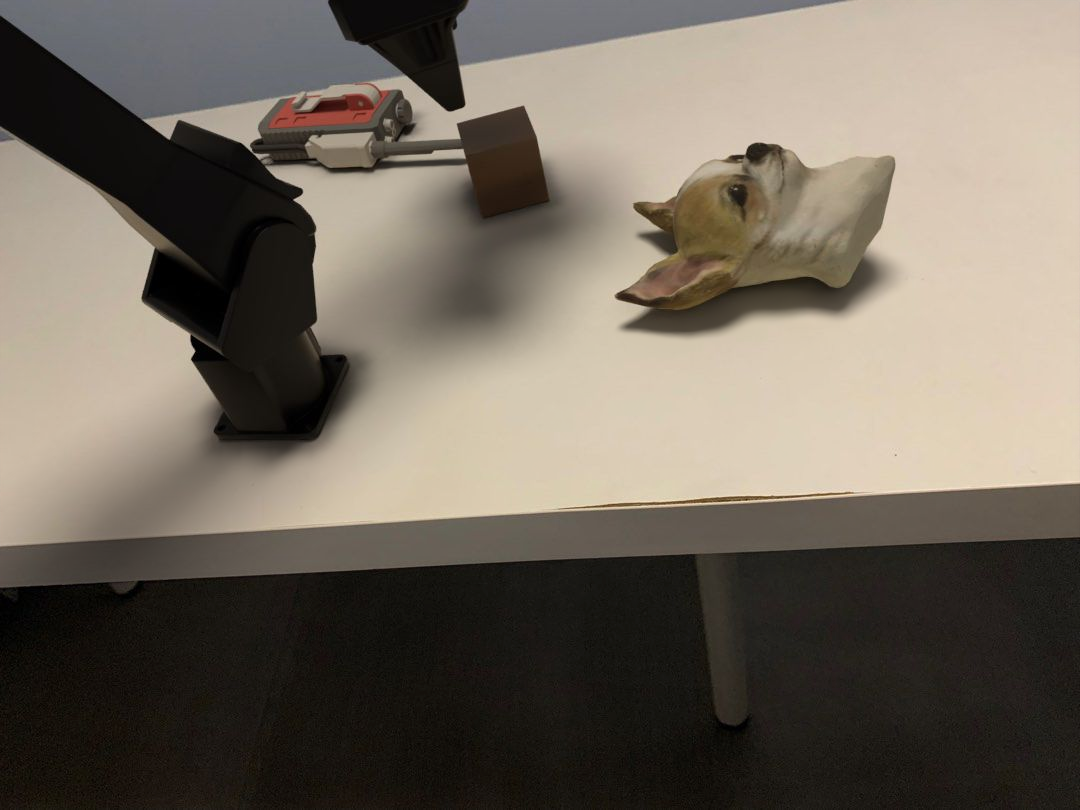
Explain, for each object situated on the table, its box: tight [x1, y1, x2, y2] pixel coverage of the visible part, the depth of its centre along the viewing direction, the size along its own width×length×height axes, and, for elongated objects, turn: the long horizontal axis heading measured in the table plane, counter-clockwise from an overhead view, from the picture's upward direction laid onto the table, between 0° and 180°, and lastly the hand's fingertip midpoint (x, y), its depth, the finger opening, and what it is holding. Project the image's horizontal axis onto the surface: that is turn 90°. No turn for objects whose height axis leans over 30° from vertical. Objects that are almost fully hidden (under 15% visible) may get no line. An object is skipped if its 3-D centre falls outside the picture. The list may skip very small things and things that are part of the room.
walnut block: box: [456, 105, 550, 219], centre depth 60 cm, size 5×5×5 cm
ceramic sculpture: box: [613, 142, 896, 311], centre depth 48 cm, size 11×9×15 cm
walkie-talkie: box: [249, 82, 463, 169], centre depth 70 cm, size 9×4×20 cm
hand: (453, 67), depth 50 cm, fingers open, 9 cm apart
